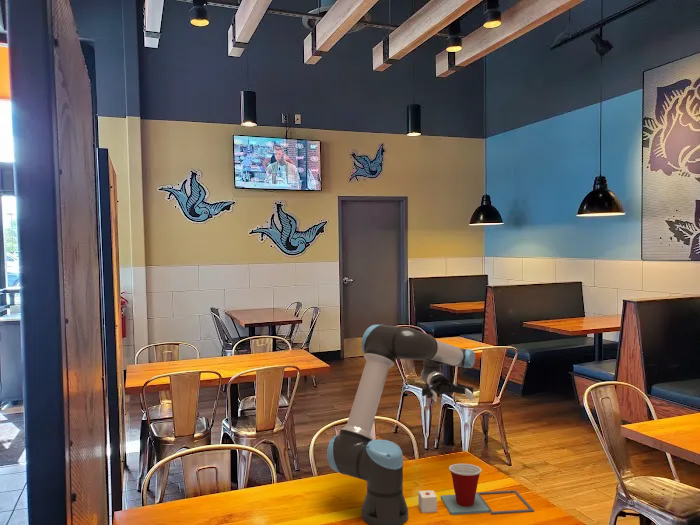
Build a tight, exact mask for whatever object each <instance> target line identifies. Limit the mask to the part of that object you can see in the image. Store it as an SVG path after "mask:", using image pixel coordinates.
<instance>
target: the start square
mask: <svg viewBox="0 0 700 525" xmlns="http://www.w3.org/2000/svg"><path fill="white" fill-rule="evenodd" d="M514 492H515V493H516V494H515V493H514ZM476 493H477V494H478V496H479V497H480V498H481V500H482V501H483V502H484V504H485V505H486V506H487V508H488V509H489V514H490V515H501V514H502V515H503V514H505V515H506V514H517V513H521V514H522V513H534V512H535V509H534V508H533V507H532V506H531V505H530V504H529V503H528V502H527V500H526V499H524V497H523V496H522V495H521V494H520V493H519V492H518V491H517V490H515V489H514V490H513V489H512V490H496V491H483V492H482V491H479V492H477V491H476ZM512 493H513V494H515V495H516V496H517V498H518V499H520V500H521V502H522V503H523V504H524V505H525V506H526V507H527V508H528V509H526V508H525V509H516V510H515V509H514V510H497V511H493V510H492V509H491V507H490V506H489V505H488V503H487V502H486V501H485V499H484V498H483V496H484V495H500V494H512ZM482 495H483V496H482Z"/></svg>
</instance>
